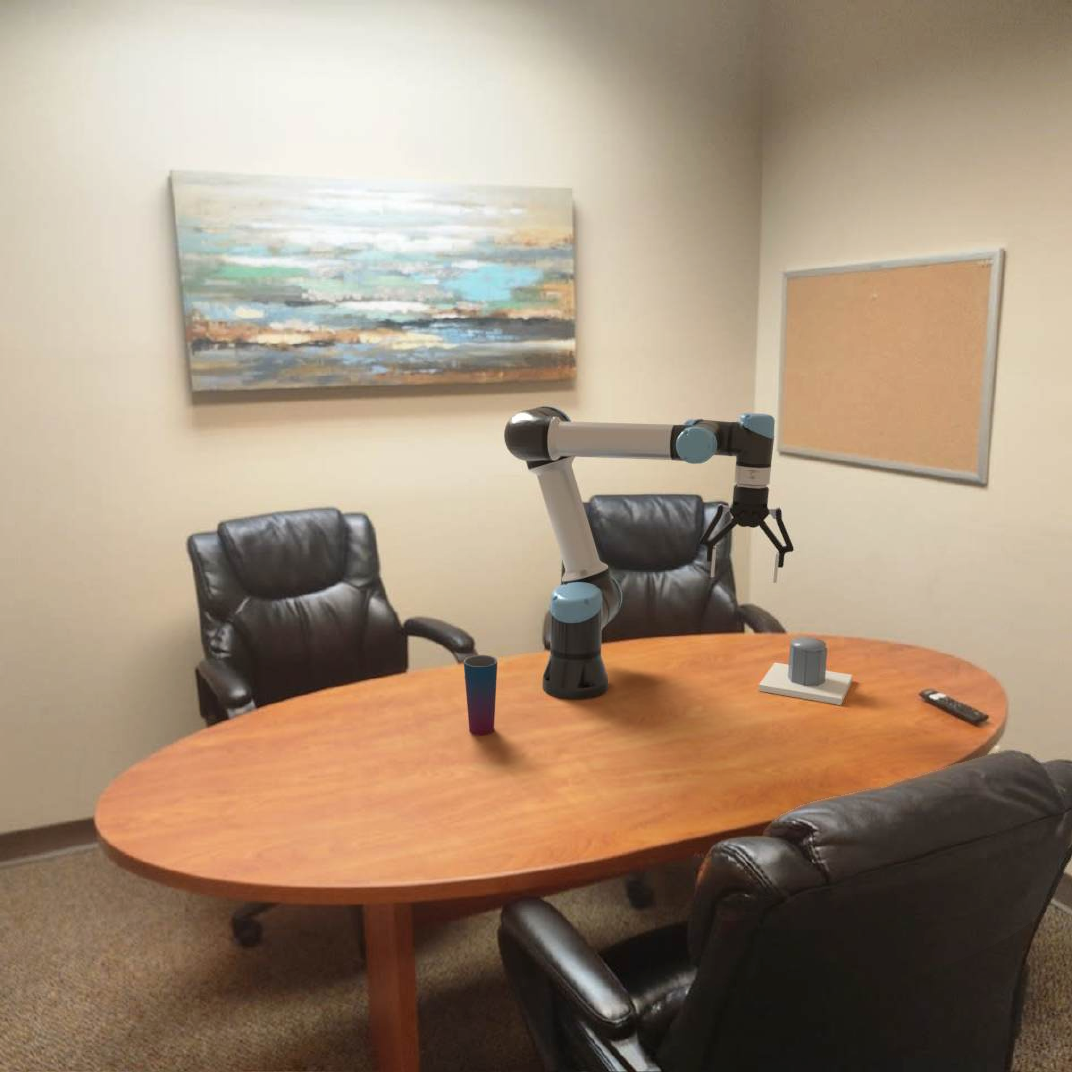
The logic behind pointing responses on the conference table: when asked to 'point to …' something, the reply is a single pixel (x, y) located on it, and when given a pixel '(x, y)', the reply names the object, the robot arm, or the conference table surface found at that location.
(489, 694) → the cup
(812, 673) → the cap
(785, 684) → the stud board
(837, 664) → the conference table surface
